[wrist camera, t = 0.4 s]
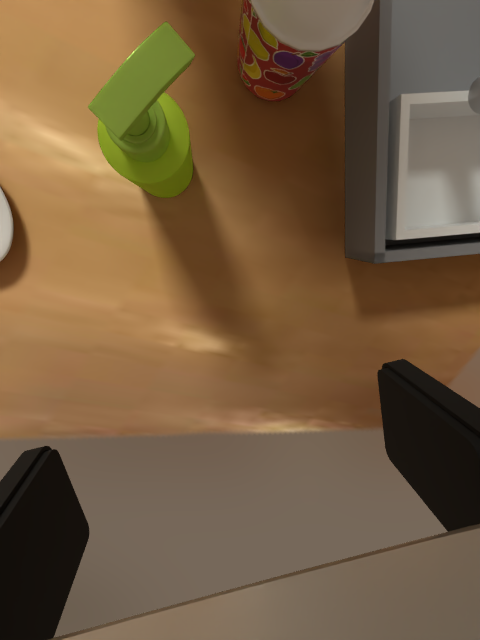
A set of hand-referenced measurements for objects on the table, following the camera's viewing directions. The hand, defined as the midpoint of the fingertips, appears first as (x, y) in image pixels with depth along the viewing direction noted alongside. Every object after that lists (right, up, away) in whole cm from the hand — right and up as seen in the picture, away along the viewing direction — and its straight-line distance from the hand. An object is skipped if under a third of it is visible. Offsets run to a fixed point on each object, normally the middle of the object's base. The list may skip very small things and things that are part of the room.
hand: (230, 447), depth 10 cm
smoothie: (+3, +28, +25) cm, 38 cm away
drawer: (+21, +20, +27) cm, 40 cm away
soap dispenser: (-7, +19, +26) cm, 33 cm away
